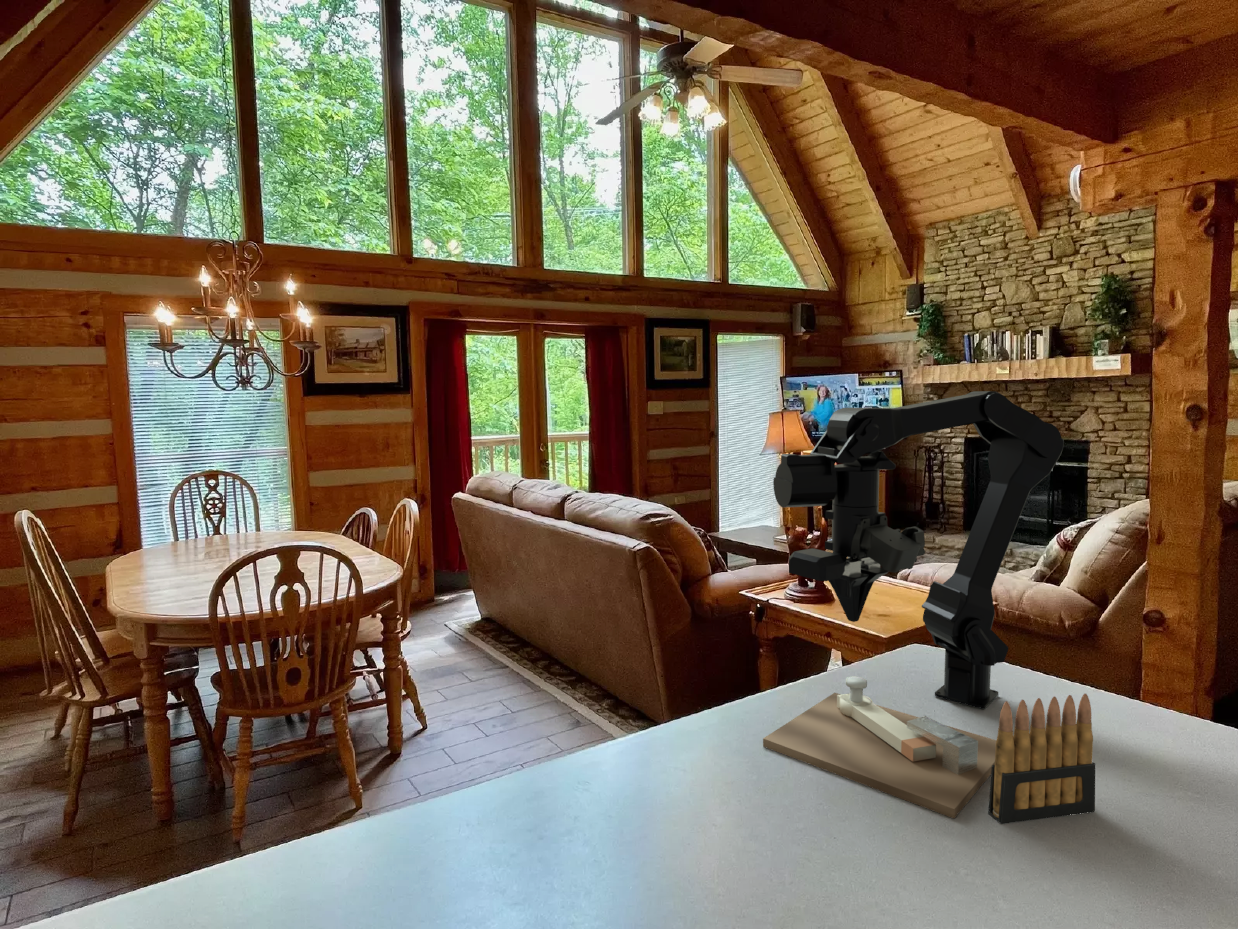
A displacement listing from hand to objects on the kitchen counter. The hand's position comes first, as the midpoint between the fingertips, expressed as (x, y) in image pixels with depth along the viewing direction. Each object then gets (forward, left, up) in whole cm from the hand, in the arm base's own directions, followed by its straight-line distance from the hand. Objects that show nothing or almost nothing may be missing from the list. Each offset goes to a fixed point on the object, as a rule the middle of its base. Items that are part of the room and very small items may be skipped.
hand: (853, 621), depth 96 cm
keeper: (+7, +14, -11) cm, 19 cm away
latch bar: (+6, +7, -11) cm, 14 cm away
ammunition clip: (+10, +25, -12) cm, 30 cm away
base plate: (+8, +8, -12) cm, 16 cm away
